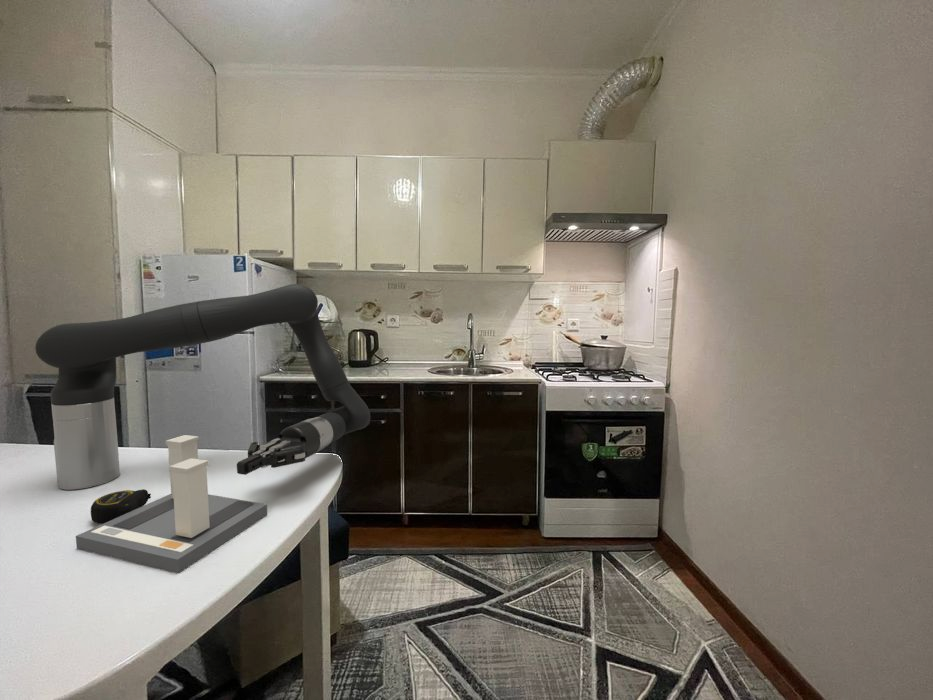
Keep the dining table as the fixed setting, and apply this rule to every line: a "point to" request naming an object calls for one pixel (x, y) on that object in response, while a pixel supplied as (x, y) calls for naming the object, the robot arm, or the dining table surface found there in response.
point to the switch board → (169, 533)
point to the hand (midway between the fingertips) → (240, 469)
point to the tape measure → (117, 504)
